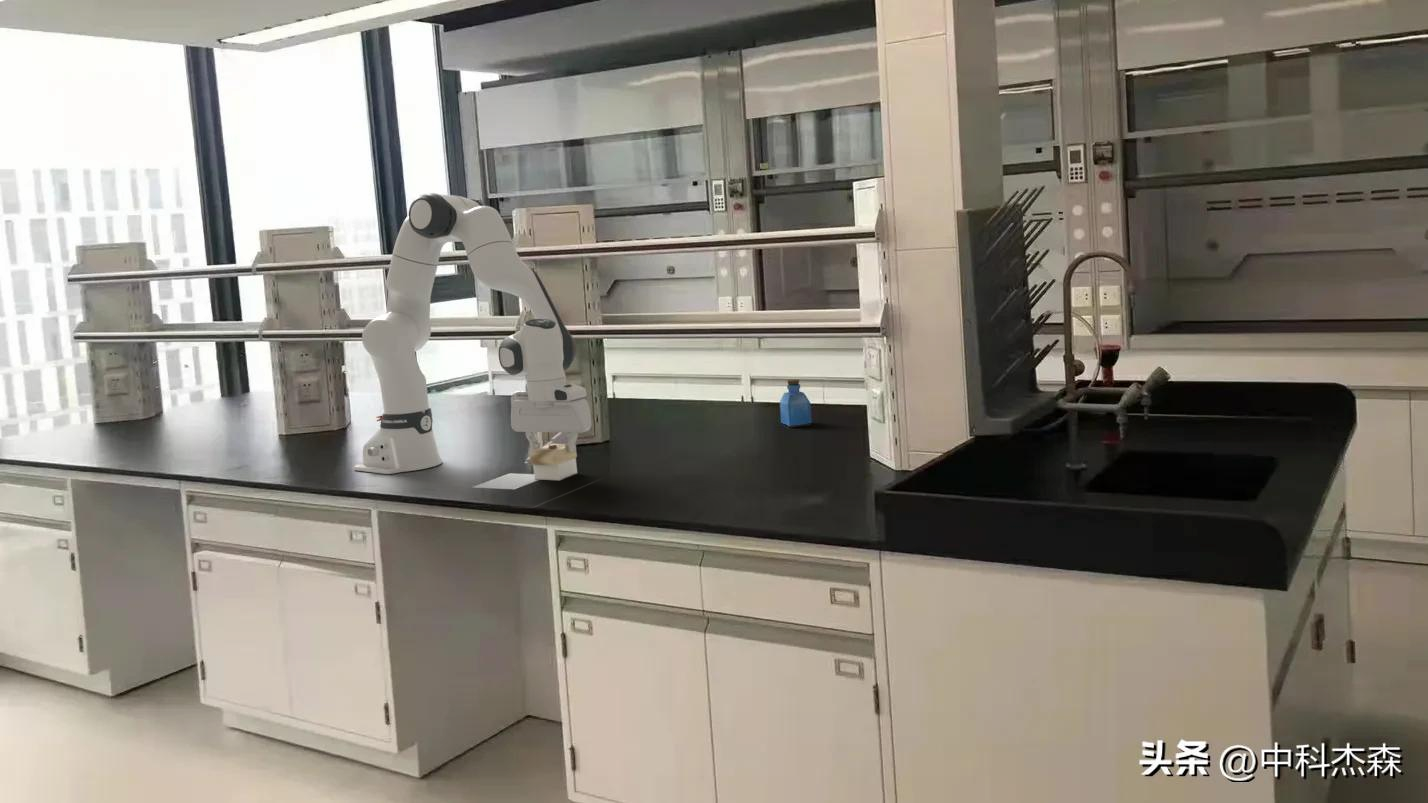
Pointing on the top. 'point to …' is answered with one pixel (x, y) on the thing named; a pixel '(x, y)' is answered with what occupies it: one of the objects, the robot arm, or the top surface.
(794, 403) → the perfume bottle
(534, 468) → the dish
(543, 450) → the lid
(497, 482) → the mat
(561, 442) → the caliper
